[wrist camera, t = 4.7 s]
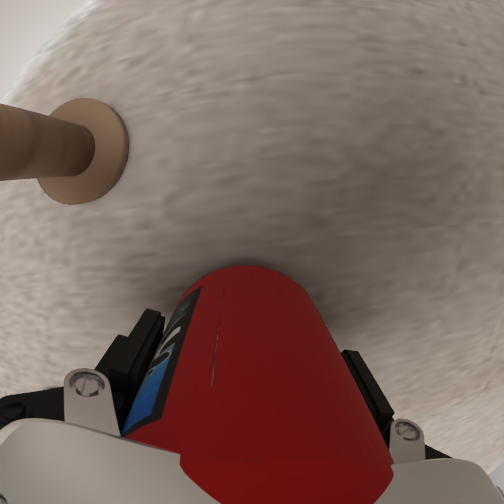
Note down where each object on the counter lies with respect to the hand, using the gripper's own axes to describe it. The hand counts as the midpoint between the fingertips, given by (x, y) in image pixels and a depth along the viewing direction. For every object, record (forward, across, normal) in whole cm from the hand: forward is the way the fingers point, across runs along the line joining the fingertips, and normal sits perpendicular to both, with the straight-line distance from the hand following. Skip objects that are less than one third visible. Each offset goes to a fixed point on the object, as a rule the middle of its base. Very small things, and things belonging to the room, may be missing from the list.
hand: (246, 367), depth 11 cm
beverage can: (+4, 0, 0) cm, 4 cm away
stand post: (+4, +10, -6) cm, 12 cm away
